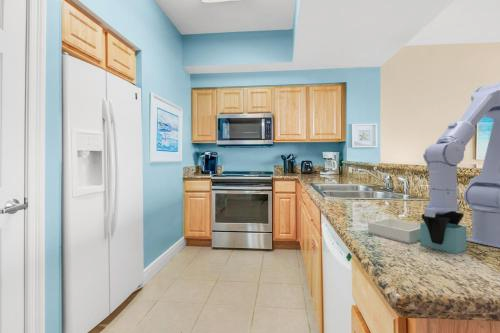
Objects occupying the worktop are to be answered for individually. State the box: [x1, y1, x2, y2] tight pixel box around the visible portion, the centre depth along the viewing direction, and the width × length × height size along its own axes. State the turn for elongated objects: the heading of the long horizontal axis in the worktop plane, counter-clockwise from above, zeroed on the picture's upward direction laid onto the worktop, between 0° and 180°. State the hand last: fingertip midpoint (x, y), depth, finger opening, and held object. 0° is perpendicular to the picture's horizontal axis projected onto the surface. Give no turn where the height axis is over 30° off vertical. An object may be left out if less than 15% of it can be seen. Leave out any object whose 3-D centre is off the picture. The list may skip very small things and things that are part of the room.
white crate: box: [367, 217, 420, 245], centre depth 76 cm, size 11×12×4 cm
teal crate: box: [419, 221, 467, 255], centre depth 65 cm, size 6×8×6 cm
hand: (442, 241), depth 65 cm, fingers closed on teal crate, 6 cm apart
